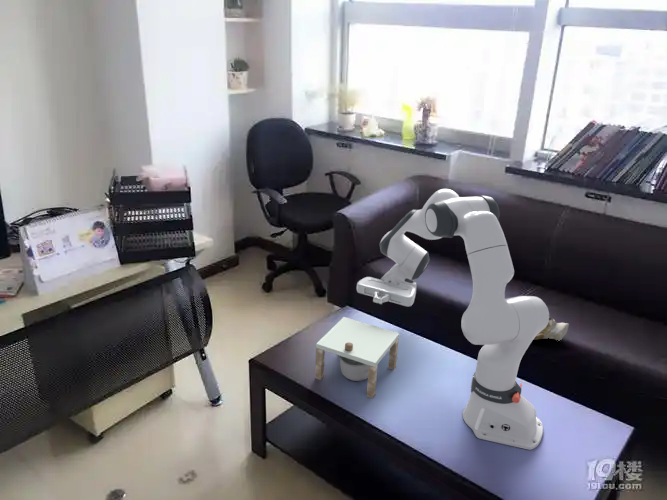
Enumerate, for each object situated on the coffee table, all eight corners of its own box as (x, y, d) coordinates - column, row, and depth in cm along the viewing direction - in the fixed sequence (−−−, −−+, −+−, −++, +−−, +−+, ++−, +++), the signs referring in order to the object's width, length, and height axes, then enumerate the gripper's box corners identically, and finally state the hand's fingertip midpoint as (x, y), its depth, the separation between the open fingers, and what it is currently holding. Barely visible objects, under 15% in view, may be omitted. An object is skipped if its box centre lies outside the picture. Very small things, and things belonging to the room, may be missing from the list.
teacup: (369, 388, 180) (371, 366, 177) (335, 382, 182) (336, 361, 179) (375, 362, 192) (377, 342, 189) (343, 358, 194) (345, 337, 191)
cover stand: (396, 366, 191) (399, 337, 187) (372, 398, 175) (374, 367, 171) (342, 348, 199) (344, 320, 195) (315, 378, 183) (316, 348, 179)
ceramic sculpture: (571, 327, 202) (526, 322, 205) (567, 348, 205) (523, 343, 209) (568, 312, 211) (525, 308, 215) (565, 333, 214) (522, 328, 218)
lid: (398, 337, 186) (399, 329, 185) (375, 367, 171) (375, 358, 169) (343, 320, 194) (344, 312, 193) (316, 347, 179) (316, 339, 178)
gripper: (366, 269, 205) (349, 284, 194) (420, 283, 197) (406, 300, 186) (365, 285, 208) (348, 301, 196) (418, 299, 199) (404, 317, 188)
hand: (377, 301), depth 191 cm, fingers closed
